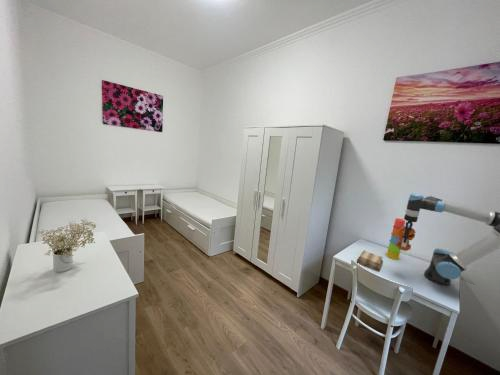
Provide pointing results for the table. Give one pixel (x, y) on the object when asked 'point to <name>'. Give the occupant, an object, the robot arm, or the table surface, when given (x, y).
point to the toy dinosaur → (401, 234)
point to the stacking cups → (395, 240)
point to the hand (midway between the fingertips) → (404, 244)
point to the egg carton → (370, 260)
